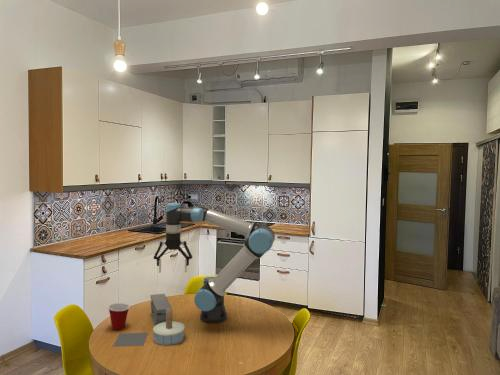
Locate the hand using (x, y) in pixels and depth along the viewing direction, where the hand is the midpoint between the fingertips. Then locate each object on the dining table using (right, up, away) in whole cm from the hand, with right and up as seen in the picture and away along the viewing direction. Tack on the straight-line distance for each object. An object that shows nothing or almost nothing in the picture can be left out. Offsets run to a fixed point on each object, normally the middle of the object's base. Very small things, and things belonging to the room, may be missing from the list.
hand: (172, 271), depth 196 cm
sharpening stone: (-8, -29, +6) cm, 30 cm away
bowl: (+1, -29, -16) cm, 33 cm away
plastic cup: (-27, -29, -5) cm, 40 cm away
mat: (-17, -29, -18) cm, 38 cm away
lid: (+1, -24, -16) cm, 29 cm away
